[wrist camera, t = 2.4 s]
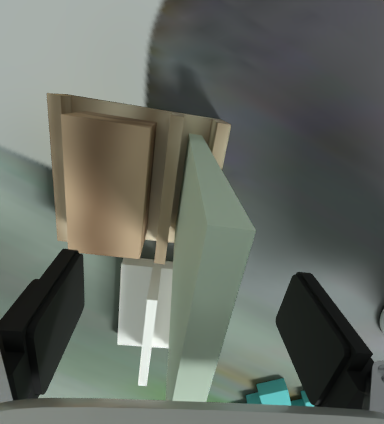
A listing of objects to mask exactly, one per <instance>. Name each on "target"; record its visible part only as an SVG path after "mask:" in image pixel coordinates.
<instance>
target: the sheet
mask: <svg viewBox="0 0 384 424" xmlns="http://www.w3.org/2000/svg"><path fill="white" fill-rule="evenodd" d="M255 233H256V230H255V228H254V226H253V225H252V223H251V221H250V219H249V218H248V216H247V214H246V212H245V211H244V209H243V207H242V205H241V203H240V202H239V200H238V198H237V196H236V195H235V193H234V191H233V189H232V188H231V186H230V184H229V182H228V180H227V179H226V177H225V175H224V173H223V172H222V170H221V168H220V166H219V165H218V163H217V161H216V159H215V158H214V156H213V154H212V152H211V150H210V149H209V147H208V145H207V143H206V142H205V140H204V138H203V136H202V135H197V134H190V133H189V135H188V142H187V149H186V156H185V163H184V170H183V177H182V184H181V191H180V198H179V205H178V212H177V219H176V226H175V237H174V256H173V274H172V293H171V311H170V330H169V348H168V366H167V385H166V401H191V402H206V400H207V397H208V394H209V390H210V387H211V383H212V380H213V376H214V373H215V370H216V366H217V363H218V359H219V356H220V352H221V349H222V346H223V342H224V339H225V335H226V332H227V328H228V325H229V322H230V318H231V315H232V311H233V308H234V304H235V301H236V298H237V294H238V291H239V287H240V284H241V281H242V277H243V274H244V270H245V267H246V263H247V260H248V257H249V253H250V250H251V246H252V243H253V239H254V236H255Z"/></svg>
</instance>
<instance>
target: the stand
mask: <svg viewBox="0 0 384 424" xmlns="http://www.w3.org/2000/svg"><path fill="white" fill-rule="evenodd" d="M172 274H173V262H172V261H165V264H156V263H154V260H153V259H144V258H140V259H133V258H123V261H122V263H121V279H120V301H119V322H118V343H117V345H131V346H142V352H141V361H140V371H139V380H138V385H140V386H147V379H148V372H149V364H150V356H151V348H152V347H159V348H169V330H170V311H171V293H172Z"/></svg>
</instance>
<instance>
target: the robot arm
mask: <svg viewBox="0 0 384 424" xmlns="http://www.w3.org/2000/svg"><path fill="white" fill-rule="evenodd" d="M83 308H84V270H83V254H79V251H78V250H72V249H62V250H61V252H60V253H59V254H58V256H57V257H56V258H55V259H54V261H53V262H52V263H51V265H50V266H49V267H48V269H47V270H46V271H45V272H44V274H43V275H42V276H41V278H40V279H34V280H33V281H32V282H31V283H30V284H29V285H28V286H27V288H26V289H25V290H24V291H23V293H22V294H21V295H20V296H19V298H18V299H17V300H16V301H15V303H14V304H13V305H12V306H11V307H10V309H9V310H8V311H7V312H6V314H5V315H4V316H3V317H2V319H1V320H0V424H384V361H383V360H382V361H376V362H374V361H373V360H372V359H371V356H372V355H373V353H372V352H371V351H370V350H369V348H368V347H367V346H366V344H365V343H364V342H363V340H362V339H361V338H360V336H359V335H358V334H357V332H356V331H355V330H354V328H353V327H352V326H351V324H350V323H349V322H348V321H347V319H346V318H345V317H344V315H343V314H342V313H341V311H340V310H339V309H338V307H337V306H336V305H335V303H334V302H333V301H332V299H331V298H330V297H329V295H328V294H327V293H326V291H325V290H324V289H323V288H322V286H321V285H320V284H319V282H318V281H317V280H316V278H315V277H314V276H313V275H312V274H311V273H303V272H298V273H296V275H293V276H292V278H291V281H290V283H289V286H288V289H287V291H286V294H285V296H284V299H283V301H282V304H281V306H280V309H279V311H278V314H277V316H276V325H277V328H278V330H279V332H280V335H281V337H282V339H283V342H284V344H285V346H286V349H287V351H288V353H289V356H290V358H291V360H292V363H293V365H294V367H295V370H296V372H297V374H298V377H299V379H300V381H301V384H302V386H303V388H304V391H305V393H306V395H307V398H308V400H309V402H310V403H311V404H312V405H314V407H312V406H290V405H267V404H243V403H218V402H191V401H163V400H132V399H98V398H38V397H39V395H40V394H42V395H43V394H45V392H46V391H47V389H48V386H49V384H50V382H51V380H52V378H53V375H54V373H55V371H56V369H57V367H58V364H59V362H60V360H61V358H62V355H63V353H64V351H65V349H66V347H67V344H68V342H69V340H70V338H71V336H72V333H73V331H74V329H75V327H76V324H77V322H78V320H79V318H80V316H81V313H82V311H83ZM380 328H381V330H382V332H383V333H384V309H383V311H382V313H381V317H380Z"/></svg>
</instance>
